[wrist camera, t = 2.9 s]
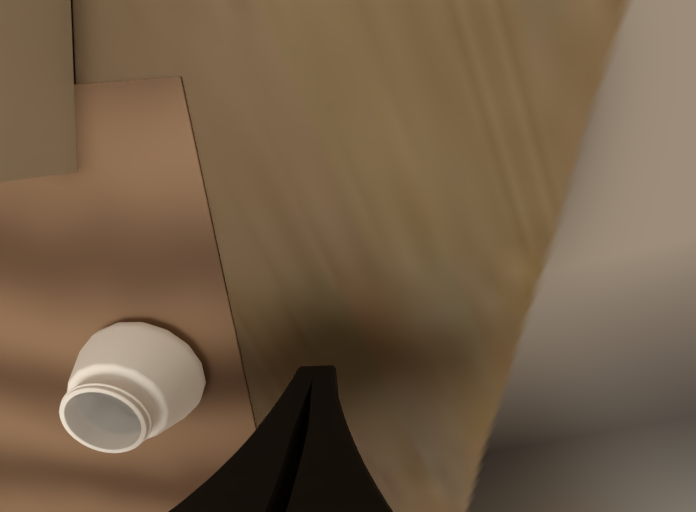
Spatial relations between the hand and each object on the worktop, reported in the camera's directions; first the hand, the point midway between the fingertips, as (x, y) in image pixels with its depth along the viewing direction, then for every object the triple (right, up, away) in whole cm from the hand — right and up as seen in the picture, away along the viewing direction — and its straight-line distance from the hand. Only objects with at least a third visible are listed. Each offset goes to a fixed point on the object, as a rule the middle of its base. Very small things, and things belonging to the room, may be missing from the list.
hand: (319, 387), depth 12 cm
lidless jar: (-7, 0, +2) cm, 8 cm away
